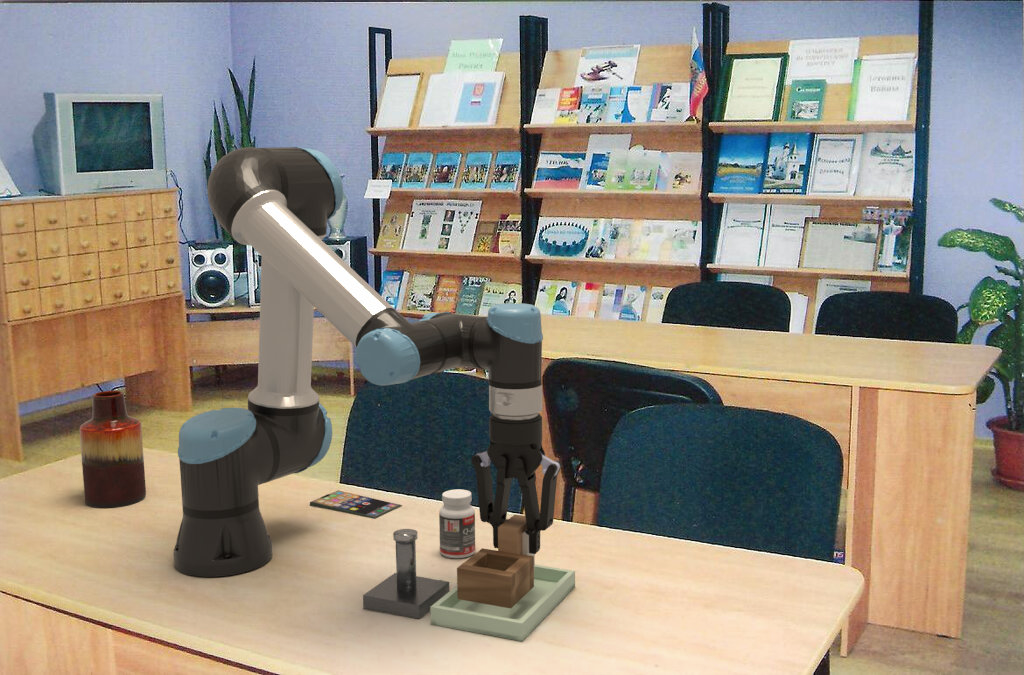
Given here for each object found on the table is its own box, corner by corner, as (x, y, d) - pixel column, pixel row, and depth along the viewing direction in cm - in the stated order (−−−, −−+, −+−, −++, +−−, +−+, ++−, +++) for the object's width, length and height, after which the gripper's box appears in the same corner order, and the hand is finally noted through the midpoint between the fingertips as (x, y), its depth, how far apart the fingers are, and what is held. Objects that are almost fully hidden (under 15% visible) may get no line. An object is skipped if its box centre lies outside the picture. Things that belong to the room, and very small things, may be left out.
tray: (430, 624, 145) (430, 606, 144) (491, 573, 162) (491, 557, 162) (522, 641, 139) (522, 623, 139) (575, 586, 157) (575, 570, 157)
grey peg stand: (363, 608, 150) (361, 538, 148) (395, 585, 158) (393, 519, 156) (419, 619, 146) (417, 547, 145) (449, 594, 155) (448, 527, 153)
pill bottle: (470, 560, 168) (469, 500, 166) (435, 558, 169) (434, 498, 167) (478, 547, 173) (478, 489, 172) (445, 545, 174) (444, 487, 173)
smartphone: (374, 521, 188) (374, 514, 188) (309, 507, 195) (309, 501, 195) (402, 508, 195) (401, 502, 195) (338, 495, 202) (338, 489, 202)
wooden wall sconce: (510, 608, 142) (510, 551, 141) (457, 599, 146) (456, 543, 144) (549, 571, 155) (549, 519, 154) (499, 563, 158) (499, 512, 157)
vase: (103, 489, 206) (96, 386, 203) (156, 491, 205) (149, 387, 201) (73, 507, 195) (65, 399, 192) (128, 509, 194) (121, 400, 191)
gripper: (452, 414, 150) (455, 572, 154) (559, 425, 143) (559, 589, 147) (475, 403, 157) (478, 554, 161) (578, 412, 150) (578, 570, 154)
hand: (516, 571), depth 154 cm, fingers closed on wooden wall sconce, 3 cm apart
